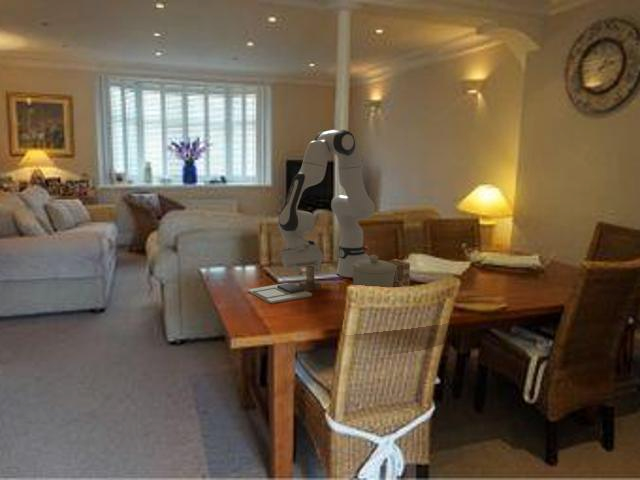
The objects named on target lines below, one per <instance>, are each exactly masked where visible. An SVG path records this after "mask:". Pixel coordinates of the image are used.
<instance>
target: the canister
mask: <svg viewBox="0 0 640 480" xmlns="http://www.w3.org/2000/svg"><path fill="white" fill-rule="evenodd" d="M369 257H370V258H369V259H370V260H361V261H357V262H355V263H354V264H352V265H351V268H352V271H353V277H352V280H353V281H352V282H353V286H354V285H365V286H380V287H393V281H394V275H395V271H396V270H397V267H396V266H395V265H393V264H392V263H390V261H386V260H382V259H379V256H378V255H376V254H371V255H370V256H369Z"/></svg>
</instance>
